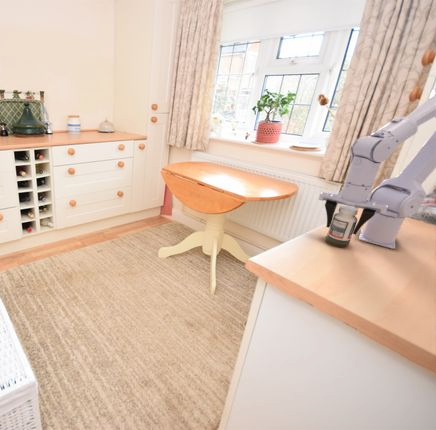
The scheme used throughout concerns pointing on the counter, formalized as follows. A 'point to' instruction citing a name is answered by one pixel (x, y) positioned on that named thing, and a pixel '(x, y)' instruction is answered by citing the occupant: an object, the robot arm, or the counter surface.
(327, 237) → the coaster stack
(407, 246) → the counter surface
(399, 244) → the counter surface
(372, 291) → the counter surface
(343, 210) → the pill bottle
